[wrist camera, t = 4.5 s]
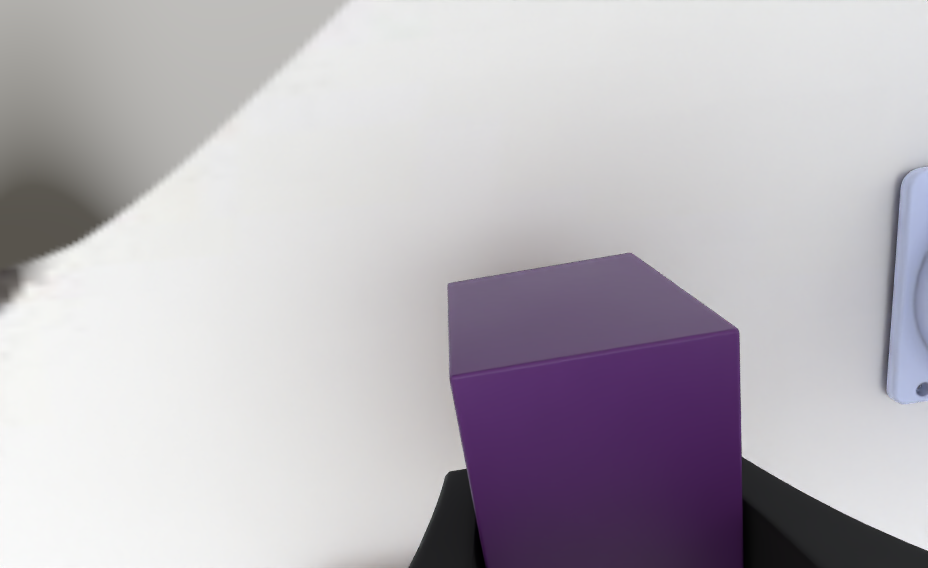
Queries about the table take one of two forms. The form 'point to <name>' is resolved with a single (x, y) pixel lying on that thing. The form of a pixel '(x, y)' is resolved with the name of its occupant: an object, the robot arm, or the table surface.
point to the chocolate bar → (597, 418)
